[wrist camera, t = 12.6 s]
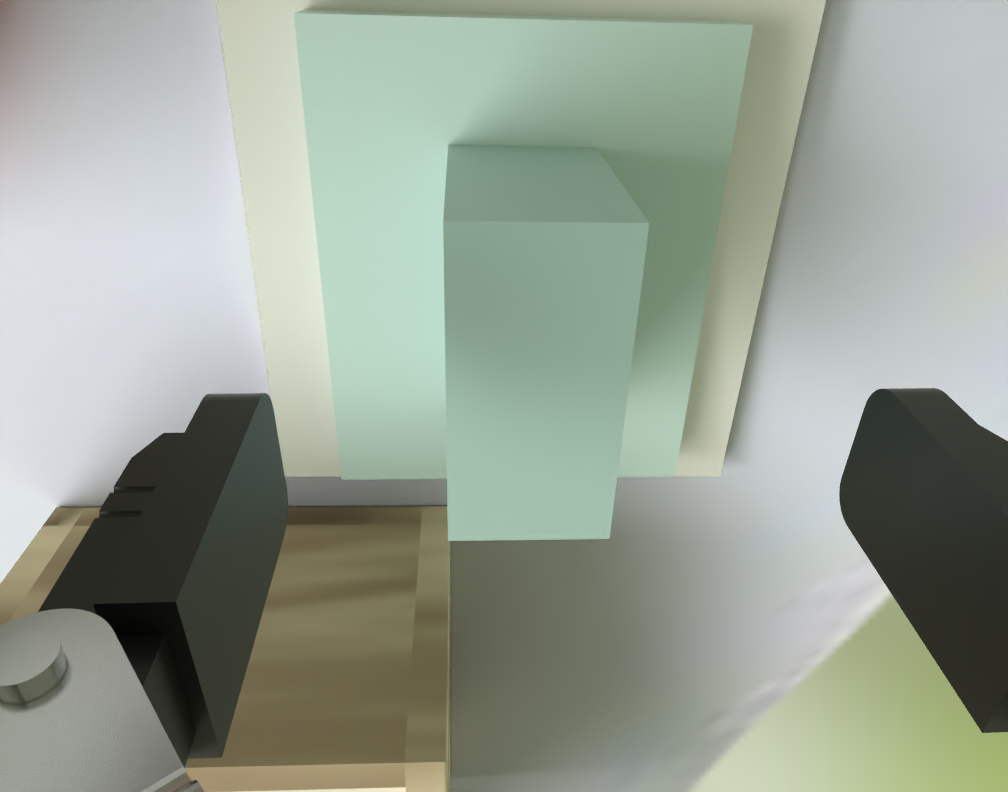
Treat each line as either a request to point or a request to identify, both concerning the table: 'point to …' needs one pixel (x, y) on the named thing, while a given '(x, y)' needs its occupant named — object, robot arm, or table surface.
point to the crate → (321, 652)
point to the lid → (516, 249)
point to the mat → (291, 223)
